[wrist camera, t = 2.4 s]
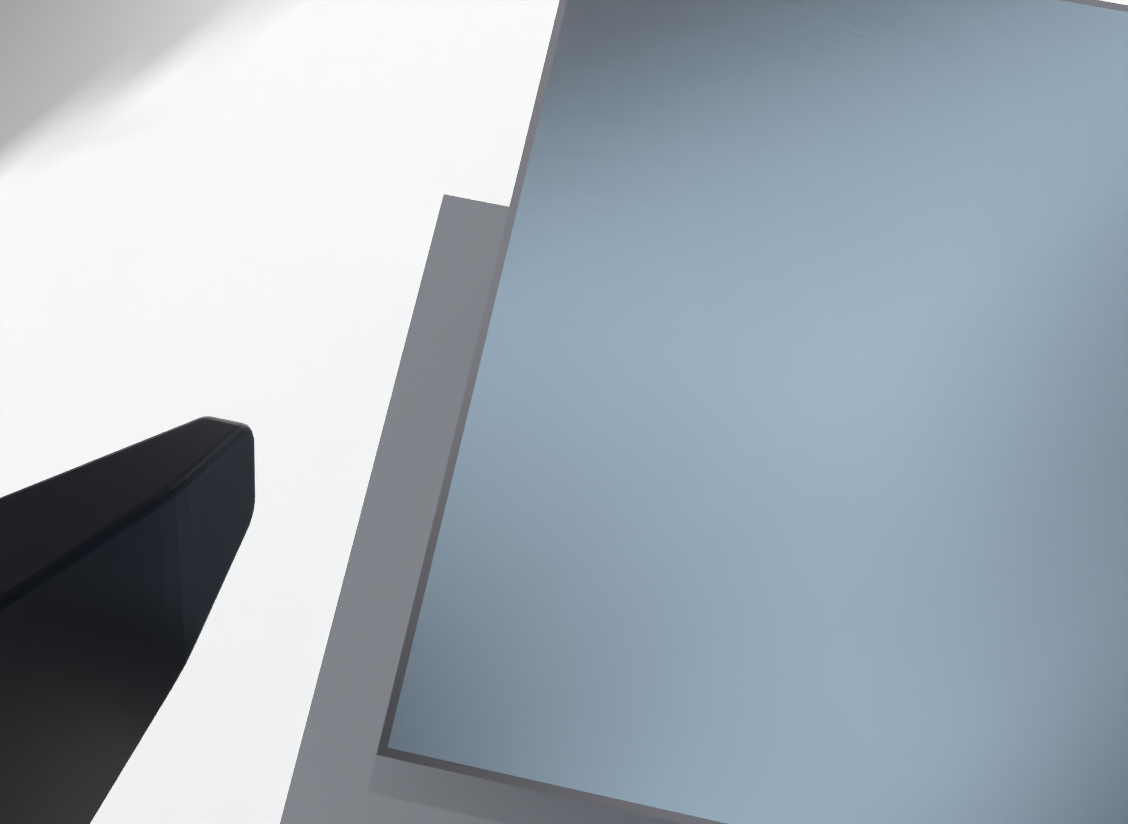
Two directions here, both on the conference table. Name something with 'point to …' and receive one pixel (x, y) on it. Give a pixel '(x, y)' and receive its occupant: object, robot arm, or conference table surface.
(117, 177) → the conference table surface
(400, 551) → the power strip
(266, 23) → the conference table surface
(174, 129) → the conference table surface
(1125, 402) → the pale blue block
